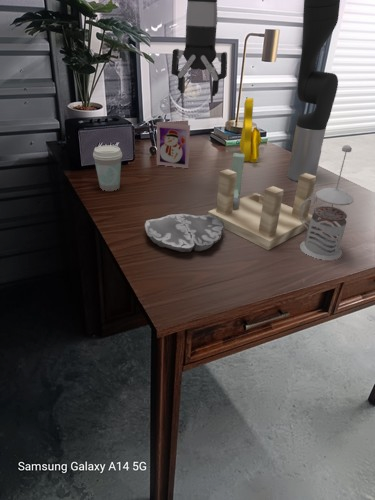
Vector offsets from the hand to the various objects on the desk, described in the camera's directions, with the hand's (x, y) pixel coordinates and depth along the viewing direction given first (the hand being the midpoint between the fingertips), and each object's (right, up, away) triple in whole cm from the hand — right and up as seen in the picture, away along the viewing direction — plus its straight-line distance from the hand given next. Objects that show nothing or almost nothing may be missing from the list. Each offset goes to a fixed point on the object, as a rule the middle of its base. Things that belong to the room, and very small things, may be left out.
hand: (197, 94), depth 104 cm
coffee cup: (-27, -23, +15) cm, 38 cm away
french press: (+28, -41, -11) cm, 51 cm away
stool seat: (+17, -34, -1) cm, 38 cm away
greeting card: (-8, -11, +36) cm, 38 cm away
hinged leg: (+10, -27, +5) cm, 30 cm away
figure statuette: (+20, -8, +44) cm, 49 cm away
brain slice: (-3, -39, -9) cm, 41 cm away
